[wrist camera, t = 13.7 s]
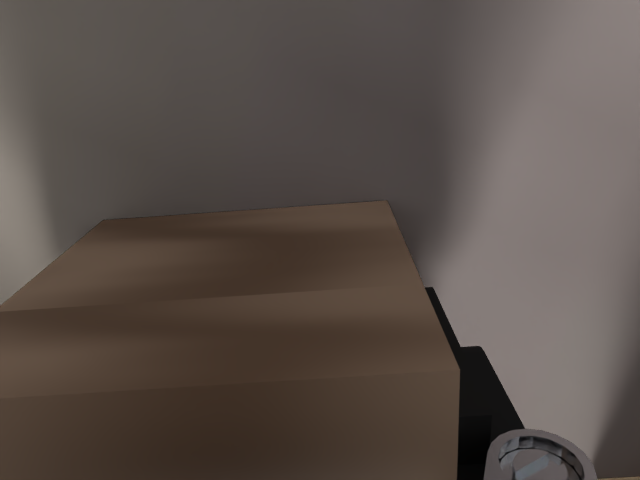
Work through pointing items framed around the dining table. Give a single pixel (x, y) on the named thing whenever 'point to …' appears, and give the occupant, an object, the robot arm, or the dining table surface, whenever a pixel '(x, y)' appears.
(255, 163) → the dining table surface
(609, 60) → the dining table surface
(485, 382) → the robot arm
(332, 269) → the walnut block
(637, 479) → the oak block
